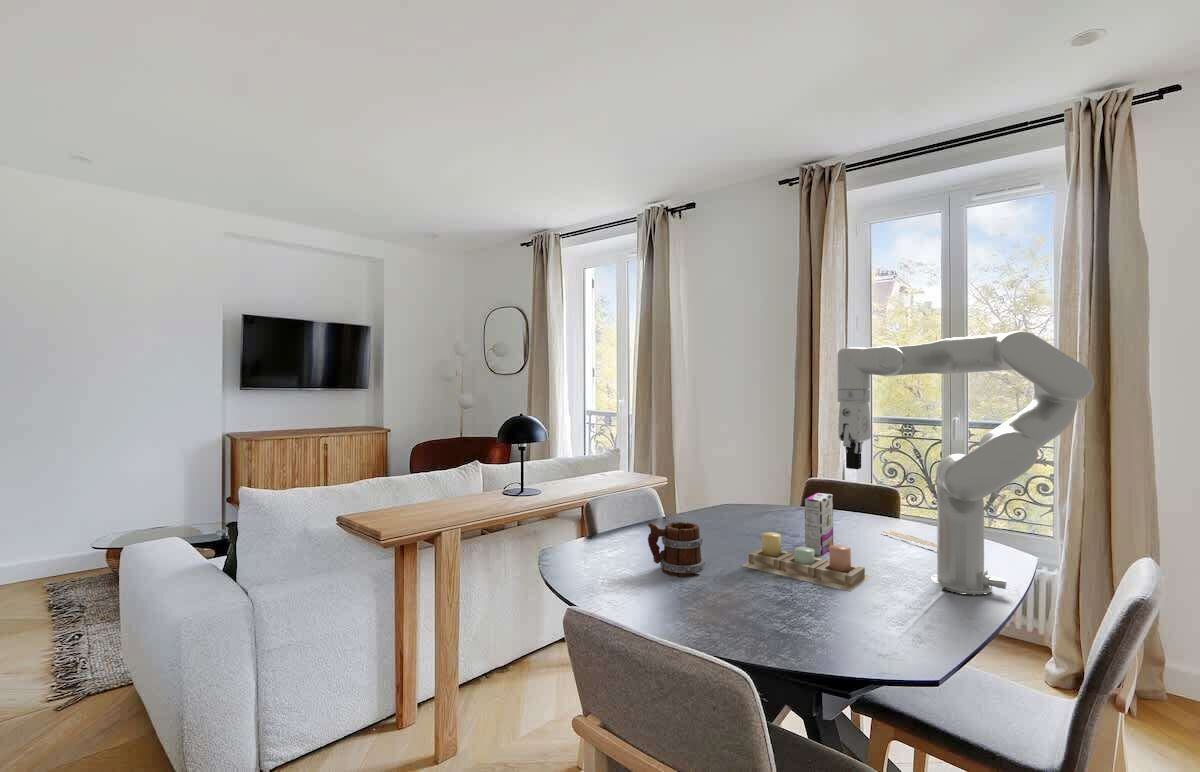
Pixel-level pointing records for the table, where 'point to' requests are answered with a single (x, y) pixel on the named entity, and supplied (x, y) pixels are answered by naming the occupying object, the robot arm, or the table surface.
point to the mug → (677, 548)
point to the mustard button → (771, 544)
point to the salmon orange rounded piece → (840, 557)
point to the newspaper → (909, 538)
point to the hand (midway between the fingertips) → (853, 468)
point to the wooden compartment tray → (807, 570)
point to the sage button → (804, 555)
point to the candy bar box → (819, 522)
